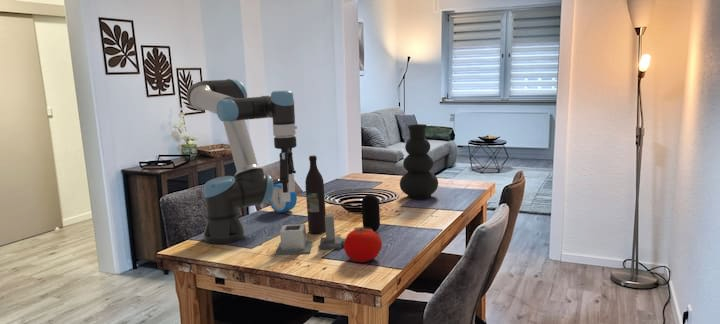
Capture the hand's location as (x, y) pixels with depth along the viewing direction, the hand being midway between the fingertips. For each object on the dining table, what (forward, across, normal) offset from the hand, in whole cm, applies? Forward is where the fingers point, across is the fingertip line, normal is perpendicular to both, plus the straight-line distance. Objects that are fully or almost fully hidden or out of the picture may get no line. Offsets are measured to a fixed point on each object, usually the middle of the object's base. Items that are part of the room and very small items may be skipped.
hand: (288, 196), depth 178 cm
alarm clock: (+20, +52, +10) cm, 57 cm away
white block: (+18, -1, -1) cm, 18 cm away
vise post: (+19, 0, -20) cm, 27 cm away
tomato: (+18, -16, -25) cm, 35 cm away
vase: (+19, +65, -54) cm, 87 cm away
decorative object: (+19, +13, -29) cm, 37 cm away
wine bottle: (+19, +18, -8) cm, 27 cm away
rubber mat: (+19, -1, -1) cm, 19 cm away
